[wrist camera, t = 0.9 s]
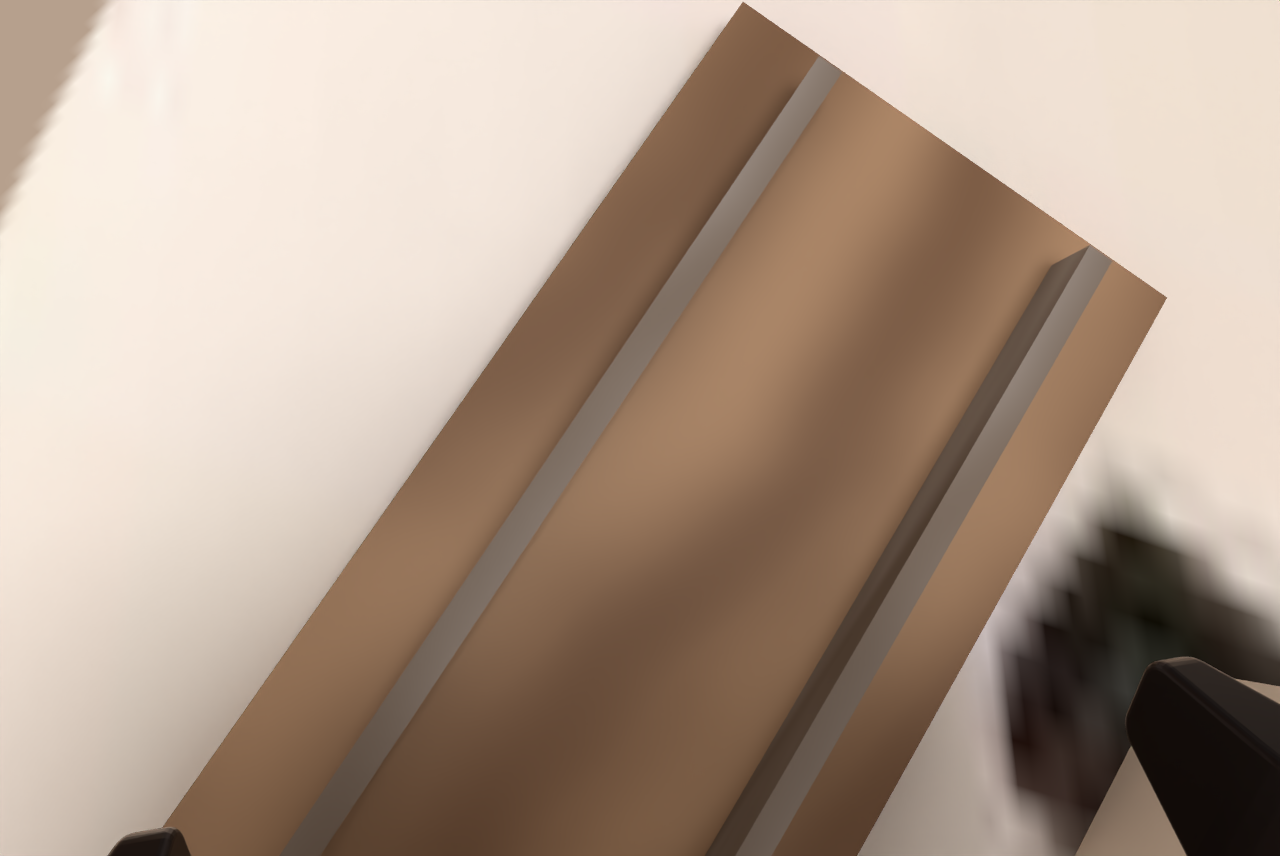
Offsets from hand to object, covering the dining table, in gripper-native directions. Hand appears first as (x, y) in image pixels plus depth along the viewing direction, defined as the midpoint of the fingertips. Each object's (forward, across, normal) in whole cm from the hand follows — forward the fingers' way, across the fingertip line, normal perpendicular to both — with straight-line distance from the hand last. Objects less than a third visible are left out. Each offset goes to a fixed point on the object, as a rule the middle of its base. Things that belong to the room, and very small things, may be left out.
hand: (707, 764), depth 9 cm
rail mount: (+9, 0, +9) cm, 13 cm away
